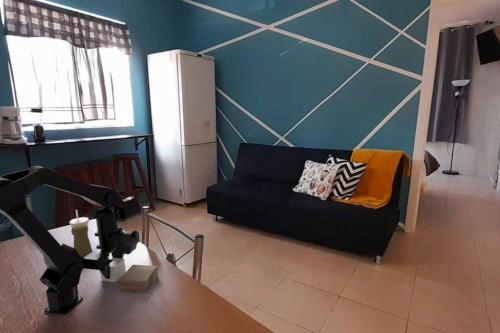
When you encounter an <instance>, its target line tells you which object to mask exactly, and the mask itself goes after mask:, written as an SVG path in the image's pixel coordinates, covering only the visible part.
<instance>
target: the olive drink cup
mask: <svg viewBox="0 0 500 333" xmlns="http://www.w3.org/2000/svg"><path fill="white" fill-rule="evenodd" d="M87 232H88V233H89V225H88V226H87V225H85V224H79V225H75V226H74V227H71V230H70V233H71V234H72V236H73V248H75V249H76V250H77V251H78V253H79V255H80V256H81V257H85V256H87V255H88V254H90V253H94V251H93V248H92V245H91V241H90V239H89V234H88V235H87Z"/></svg>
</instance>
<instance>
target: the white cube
mask: <svg viewBox="0 0 500 333" xmlns="http://www.w3.org/2000/svg"><path fill="white" fill-rule="evenodd" d="M109 259H110V260H113V261H112V262H111V263H110V279H106V278H105V277H104V276H103V274H102V273H101V272H100V271H99V272H100V280H101V281H102V282H110V283H112V282H113V283H117V282H119V279H120V278H121V277H122V276H123V275H124V274H125V272H126V271H127V270H126V261H125V258H123V259H122V258H113V257H112V256H109Z"/></svg>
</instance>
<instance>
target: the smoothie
mask: <svg viewBox="0 0 500 333" xmlns="http://www.w3.org/2000/svg"><path fill="white" fill-rule="evenodd" d="M75 216H76V218H73V219H71V220H70V221H69V225H70V226H71V228H72V227H74V226H75V225H79V224H85V225H87V226H88V227H89V223H90V219H89V217H87V216H86V217H85V216H83V217H79V213H78V209H75ZM87 235H88V236H89V231H88V232H87Z"/></svg>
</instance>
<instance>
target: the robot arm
mask: <svg viewBox="0 0 500 333" xmlns="http://www.w3.org/2000/svg"><path fill="white" fill-rule="evenodd" d="M43 185H45V186H48V187H51V188H54V189H57V190H61V191H64V192H67V193H70V194H73V195H76V196H79V197H81V198H82V199H84V200H85V201H87V202H88V203H91V204H93V205H95V206H97V207H98V206H99V207H102V208H100V209H98V208H96V207H95V208H92V210H91V211H90V212H89V213H88V214H87V218H91V219H94V220H96V229H97V230H96V232H94V237H97V238H98V244H96V245H95V246H96V248H95V249H96V250H100V251H99V252H93V253H90V254H88V255H87V256H85V257H81V256H80V255H79V253H78V251H77V250H76V249H75V248H74V246H70V245H68V244H66V243H62V244H60V243H59V241H58V240H57V239H56V238H55V237H54V236H53V234H52V233H51V232H50V231H49V230H48V229H47V227H45V226H44V224H43V223H42V222H41V221H40V220H39V219H38V217H37V216H36V215H35V214H34V213H33V211H32V210H31V209H30V208H29V206H28V203H27V198H26V195H27V194H30V193H32V192H33V191H35V190H36V189H38V188H39V187H41V186H43ZM141 213H142V207H141V205H140V203H139V201H137V199H136V197H135V196H128V197H126V198H124V199H122V198H121V197H120V195H119V191H118V190H117V189H115V188H111V187H108V186H102V185H98V184H97V185H96V184H91V183H88V182H84V181H81V180H78V179H76V178H73V177H70V176H68V175H65V174H62V173H60V172H56V171H53V170H51V169H50V168H49V167H44V166H40V165H33V166H31V167H28V168H26V169H22V170H18V171H15V172H10V173H5V174H4V175H1V176H0V214H2V215H4V216H5V217H6V218H7V219H8V220H9V221H10V222H11V223H12V224H13V225H14V226H15V228H17V229H18V230H19V232H20V233H21V234H22V235H23V236H24V237H25V238H26V239H27V240H28V241H29V243H31V244H32V245H33V246H34V247H35V248H36V249H37V250H38V252H39V253H40V254H41V255H42V256H43V261H44V264H45V266H46V269H45V270H44V272H43V273H42V275H41V276H40V278H39V282H41V283H42V285H44V286H47V290H46V291H45V294H46V299H47V304H48V306H47V307H45V308H44V309H43V310H44V312H45V313H51V314H52V313H53V314H60V315H67V314H68V313H69V312H70V311H71V310H72V309H73V308H74V307H76V306H77V304H79V303H80V302H81V301H82V300H83V299H84V297H83V296H81V295H79V289H78V286H79V285H80V280H81V277H82V276H81V275H82V272H83V269H84V270H94V271H95V270H96V271H99V272H101V273H102V274H103V276H104V277H105V278H106V279H110V263H111V262H112V261H113V260H110V259H109V258H110V255H111V258H122V259H124V256H125V255H131V254H132V252H134V251H135V250H136V249H137V246H138V244H139V243H140V241H141V239H140V232H139V231H138V230H135V229H134V230H133V231H124V229H123V227H119V221H120V223H121V222H122V223H123V222H127V221H129V220H131V219H134V218H136V217H138V216H140V215H141ZM101 273H100V274H101Z"/></svg>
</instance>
